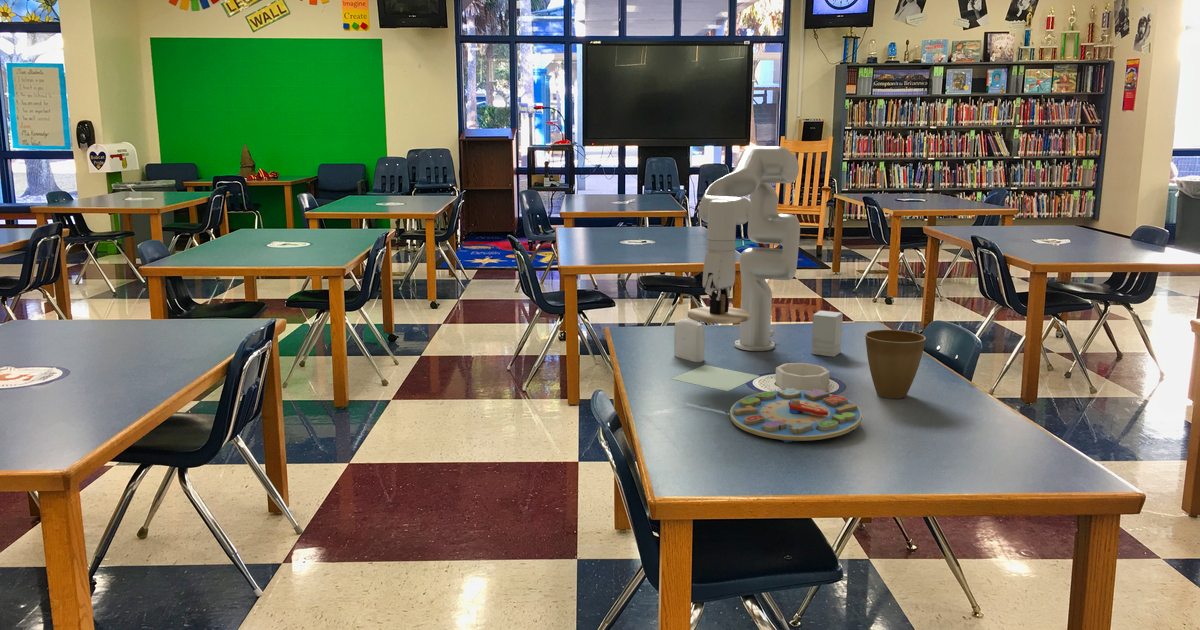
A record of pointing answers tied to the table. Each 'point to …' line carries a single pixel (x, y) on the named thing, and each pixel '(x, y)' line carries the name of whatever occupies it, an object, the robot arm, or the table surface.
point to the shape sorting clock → (796, 415)
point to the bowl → (802, 376)
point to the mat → (715, 377)
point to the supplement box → (827, 333)
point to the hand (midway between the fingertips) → (718, 312)
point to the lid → (724, 318)
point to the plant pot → (893, 360)
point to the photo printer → (689, 340)
